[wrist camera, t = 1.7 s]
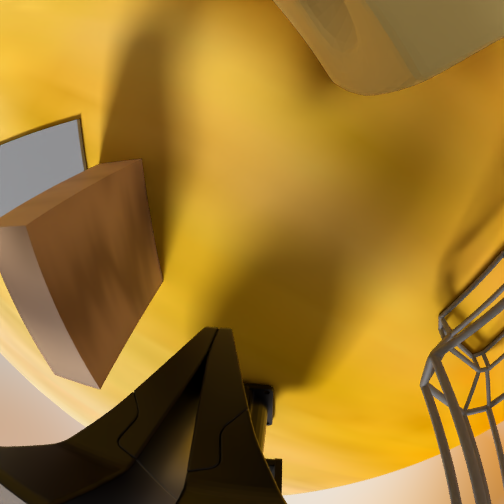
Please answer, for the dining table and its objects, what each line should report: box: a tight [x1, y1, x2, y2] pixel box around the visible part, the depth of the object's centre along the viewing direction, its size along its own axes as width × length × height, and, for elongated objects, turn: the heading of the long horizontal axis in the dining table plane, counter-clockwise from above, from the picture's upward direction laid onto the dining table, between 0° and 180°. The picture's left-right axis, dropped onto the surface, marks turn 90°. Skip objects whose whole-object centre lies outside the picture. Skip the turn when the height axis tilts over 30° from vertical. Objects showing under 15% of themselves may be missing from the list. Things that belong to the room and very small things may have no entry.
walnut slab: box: [0, 159, 163, 389], centre depth 13 cm, size 8×3×9 cm, turn 2°
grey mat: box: [0, 119, 87, 217], centre depth 18 cm, size 14×12×1 cm
